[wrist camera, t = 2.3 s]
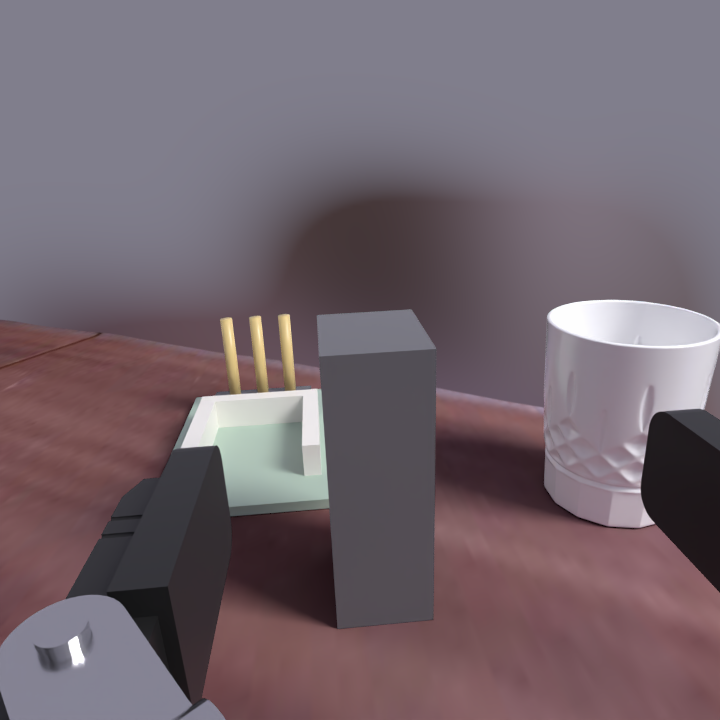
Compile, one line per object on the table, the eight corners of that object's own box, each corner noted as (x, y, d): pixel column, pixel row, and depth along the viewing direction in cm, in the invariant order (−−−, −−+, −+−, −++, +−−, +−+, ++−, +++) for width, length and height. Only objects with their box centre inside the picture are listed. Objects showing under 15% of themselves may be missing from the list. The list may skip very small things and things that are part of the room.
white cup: (539, 447, 36) (552, 295, 33) (678, 467, 33) (708, 304, 30) (525, 519, 29) (540, 338, 26) (698, 552, 27) (741, 354, 23)
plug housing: (433, 619, 24) (436, 348, 19) (337, 628, 23) (318, 356, 19) (412, 540, 28) (411, 309, 24) (332, 547, 28) (316, 314, 24)
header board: (350, 506, 31) (343, 379, 28) (146, 523, 30) (119, 394, 28) (337, 394, 45) (332, 302, 42) (197, 404, 44) (183, 311, 42)
